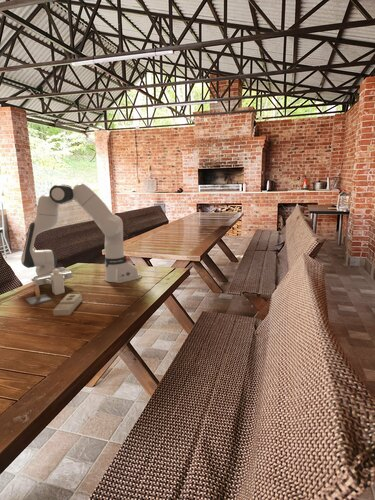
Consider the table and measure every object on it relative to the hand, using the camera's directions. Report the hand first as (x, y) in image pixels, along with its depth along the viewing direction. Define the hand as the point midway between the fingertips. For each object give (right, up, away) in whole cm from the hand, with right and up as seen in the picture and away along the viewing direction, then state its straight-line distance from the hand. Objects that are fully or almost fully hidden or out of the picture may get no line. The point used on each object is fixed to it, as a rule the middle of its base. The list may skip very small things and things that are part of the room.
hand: (57, 280), depth 171 cm
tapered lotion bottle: (0, -7, +2) cm, 7 cm away
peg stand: (-7, -9, -8) cm, 14 cm away
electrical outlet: (+13, -12, -18) cm, 25 cm away
